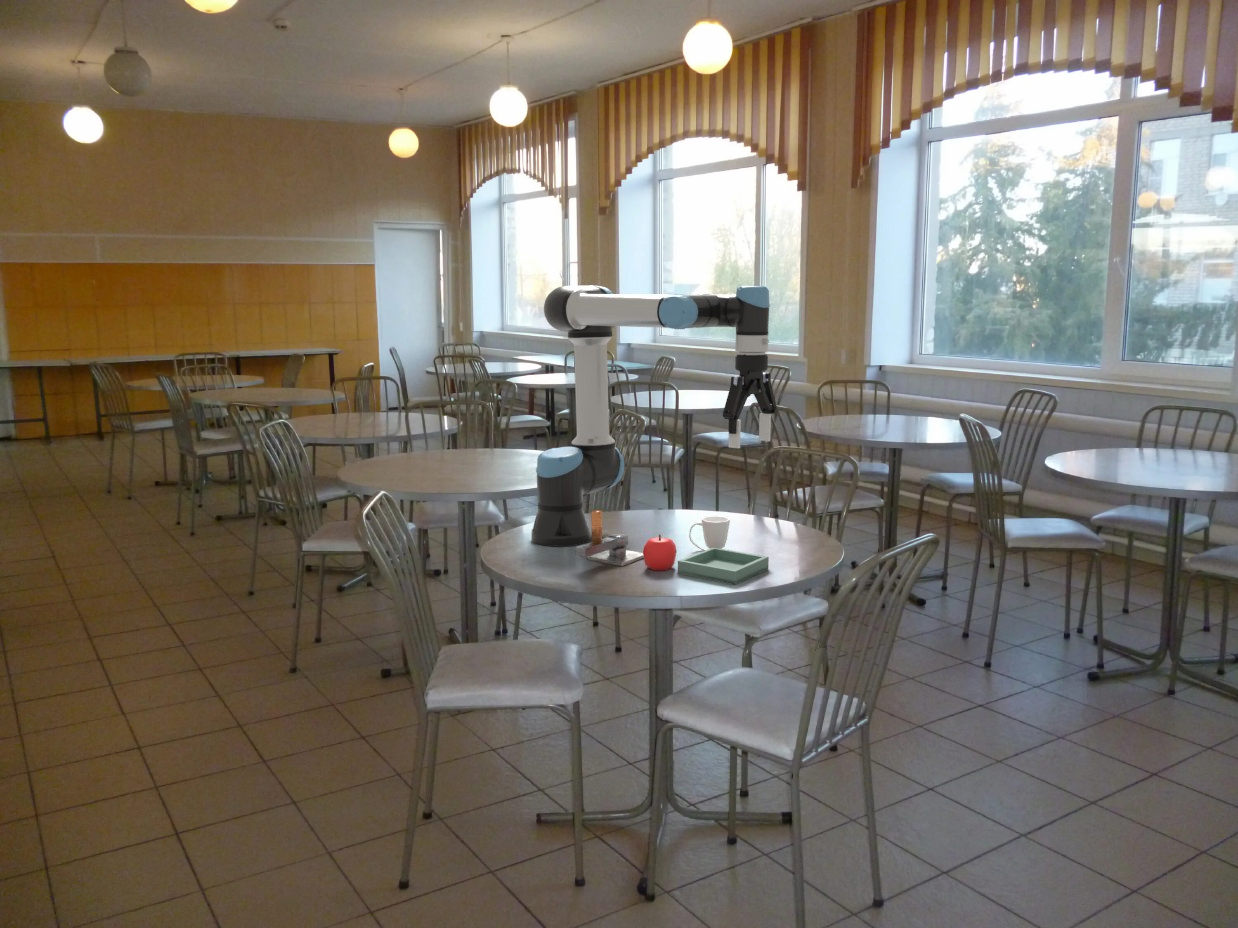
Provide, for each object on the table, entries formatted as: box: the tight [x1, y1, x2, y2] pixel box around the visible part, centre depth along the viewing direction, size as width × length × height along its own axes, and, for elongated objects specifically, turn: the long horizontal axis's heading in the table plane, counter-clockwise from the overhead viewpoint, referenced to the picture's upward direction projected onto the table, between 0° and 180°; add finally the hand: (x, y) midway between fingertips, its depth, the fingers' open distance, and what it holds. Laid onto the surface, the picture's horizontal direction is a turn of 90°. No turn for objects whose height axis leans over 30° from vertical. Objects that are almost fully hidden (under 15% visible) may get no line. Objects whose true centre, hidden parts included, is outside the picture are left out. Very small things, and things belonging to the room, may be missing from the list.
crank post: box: [587, 546, 644, 567], centre depth 241 cm, size 10×10×3 cm
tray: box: [677, 547, 770, 586], centre depth 229 cm, size 15×15×3 cm
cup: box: [688, 515, 731, 551], centre depth 247 cm, size 7×10×8 cm
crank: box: [575, 509, 629, 558], centre depth 235 cm, size 16×5×10 cm, turn 143°
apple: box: [642, 534, 677, 572], centre depth 232 cm, size 8×8×8 cm
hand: (749, 444), depth 236 cm, fingers open, 13 cm apart
